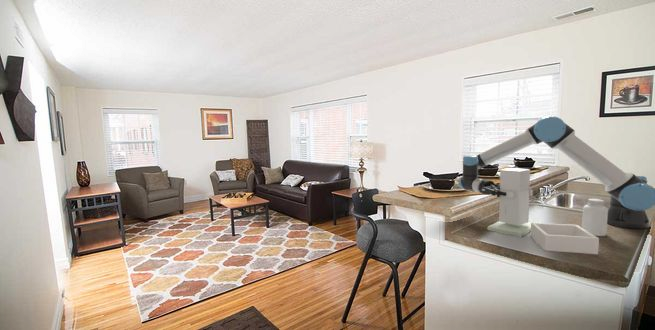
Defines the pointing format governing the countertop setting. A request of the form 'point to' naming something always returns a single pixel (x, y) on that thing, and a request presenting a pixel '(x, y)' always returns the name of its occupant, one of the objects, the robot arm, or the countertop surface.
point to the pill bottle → (595, 217)
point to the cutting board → (511, 228)
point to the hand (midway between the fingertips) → (522, 194)
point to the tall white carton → (518, 206)
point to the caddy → (564, 238)
